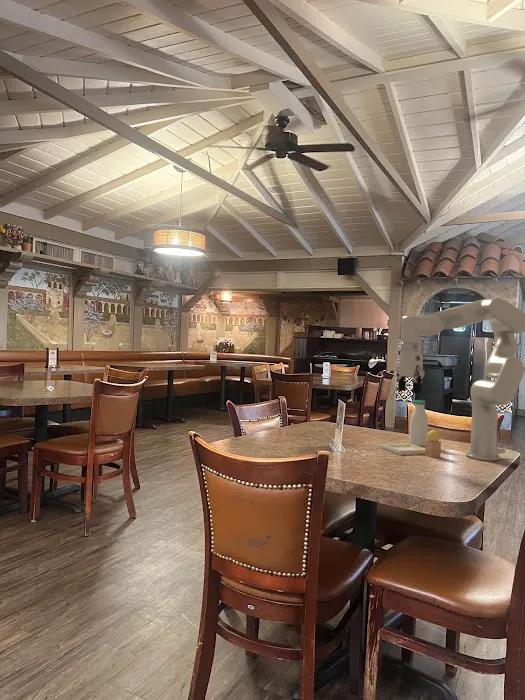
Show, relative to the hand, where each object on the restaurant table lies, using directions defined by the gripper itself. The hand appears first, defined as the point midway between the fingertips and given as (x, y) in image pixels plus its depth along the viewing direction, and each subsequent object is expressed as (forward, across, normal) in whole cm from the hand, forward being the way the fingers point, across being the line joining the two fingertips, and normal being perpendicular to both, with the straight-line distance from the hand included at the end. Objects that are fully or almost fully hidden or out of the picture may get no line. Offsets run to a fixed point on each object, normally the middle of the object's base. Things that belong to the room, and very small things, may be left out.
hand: (409, 391), depth 199 cm
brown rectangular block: (+26, +3, -14) cm, 30 cm away
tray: (+26, +14, -8) cm, 31 cm away
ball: (+21, +3, -14) cm, 25 cm away
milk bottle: (+26, +26, -23) cm, 44 cm away
